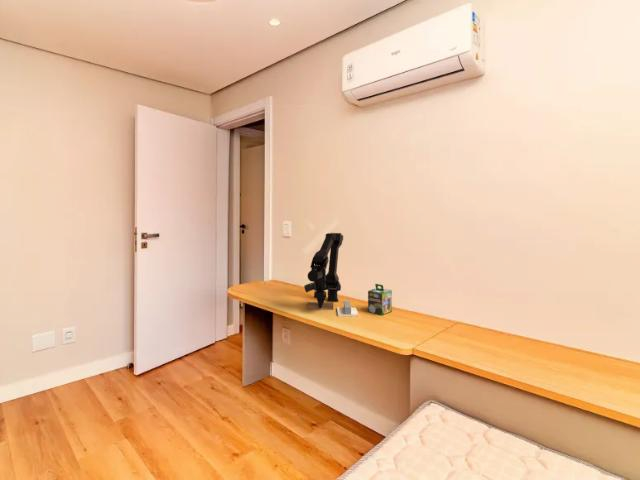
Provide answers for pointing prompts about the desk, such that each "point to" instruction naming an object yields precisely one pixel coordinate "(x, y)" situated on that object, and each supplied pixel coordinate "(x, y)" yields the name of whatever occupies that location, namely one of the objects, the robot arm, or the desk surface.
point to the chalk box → (380, 300)
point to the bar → (316, 307)
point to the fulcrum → (347, 310)
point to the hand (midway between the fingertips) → (320, 306)
